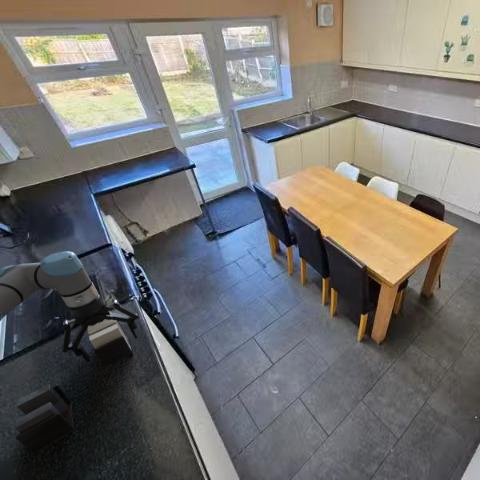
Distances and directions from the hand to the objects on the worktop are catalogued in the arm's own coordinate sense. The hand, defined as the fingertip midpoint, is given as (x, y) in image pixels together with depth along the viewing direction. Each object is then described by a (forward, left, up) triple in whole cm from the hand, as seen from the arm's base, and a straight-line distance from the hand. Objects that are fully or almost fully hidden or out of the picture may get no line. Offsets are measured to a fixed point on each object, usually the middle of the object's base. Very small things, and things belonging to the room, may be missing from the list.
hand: (112, 347), depth 91 cm
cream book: (0, 0, -4) cm, 4 cm away
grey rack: (+15, -17, -5) cm, 23 cm away
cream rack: (-2, 0, -5) cm, 5 cm away
